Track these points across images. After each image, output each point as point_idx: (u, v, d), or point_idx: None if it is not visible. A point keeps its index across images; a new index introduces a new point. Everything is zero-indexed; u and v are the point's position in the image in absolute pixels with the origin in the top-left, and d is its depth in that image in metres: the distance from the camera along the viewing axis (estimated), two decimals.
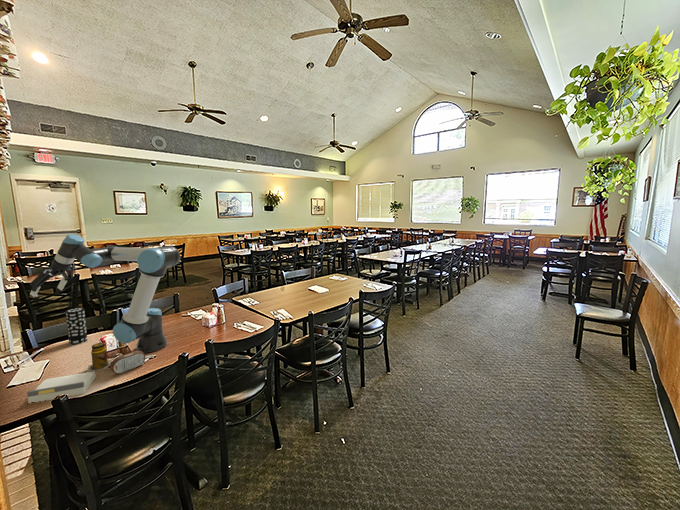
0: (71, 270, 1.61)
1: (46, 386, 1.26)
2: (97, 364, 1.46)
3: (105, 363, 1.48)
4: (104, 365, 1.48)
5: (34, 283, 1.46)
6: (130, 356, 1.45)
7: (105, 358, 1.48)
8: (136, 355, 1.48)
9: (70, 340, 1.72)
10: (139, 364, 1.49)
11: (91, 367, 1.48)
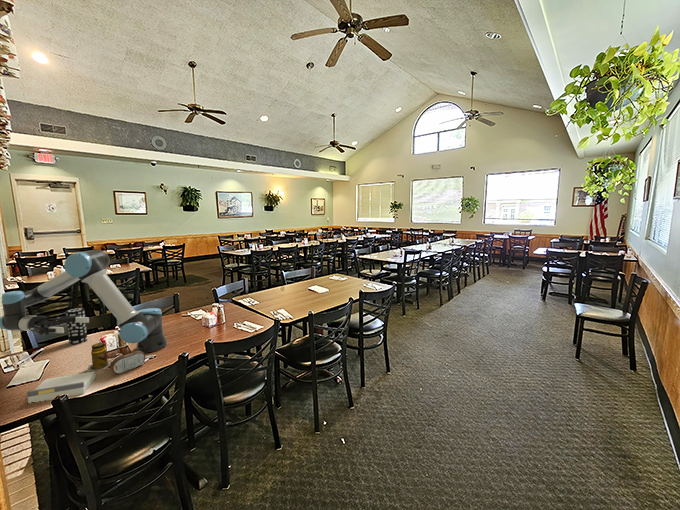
0: (61, 317, 1.52)
1: (46, 386, 1.26)
2: (97, 364, 1.46)
3: (105, 363, 1.48)
4: (104, 365, 1.48)
5: (38, 330, 1.36)
6: (130, 356, 1.45)
7: (105, 358, 1.48)
8: (136, 355, 1.48)
9: (70, 340, 1.72)
10: (139, 364, 1.49)
11: (91, 367, 1.48)
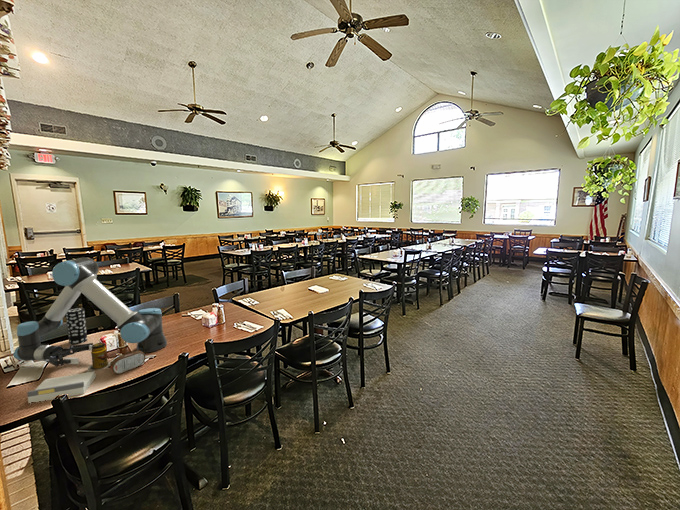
0: (75, 345, 1.54)
1: (46, 386, 1.26)
2: (97, 364, 1.46)
3: (105, 363, 1.48)
4: (104, 365, 1.48)
5: (54, 362, 1.38)
6: (130, 356, 1.45)
7: (105, 358, 1.48)
8: (136, 355, 1.48)
9: (70, 340, 1.72)
10: (139, 364, 1.49)
11: (91, 367, 1.48)
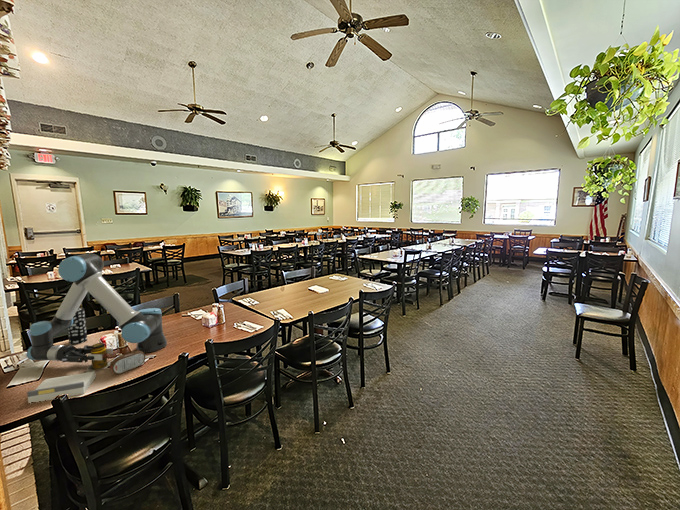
0: (88, 346, 1.53)
1: (46, 386, 1.26)
2: (96, 364, 1.45)
3: (105, 363, 1.48)
4: (103, 365, 1.48)
5: (77, 359, 1.41)
6: (130, 356, 1.45)
7: (105, 358, 1.48)
8: (136, 355, 1.48)
9: (70, 340, 1.72)
10: (139, 364, 1.49)
11: (91, 367, 1.47)
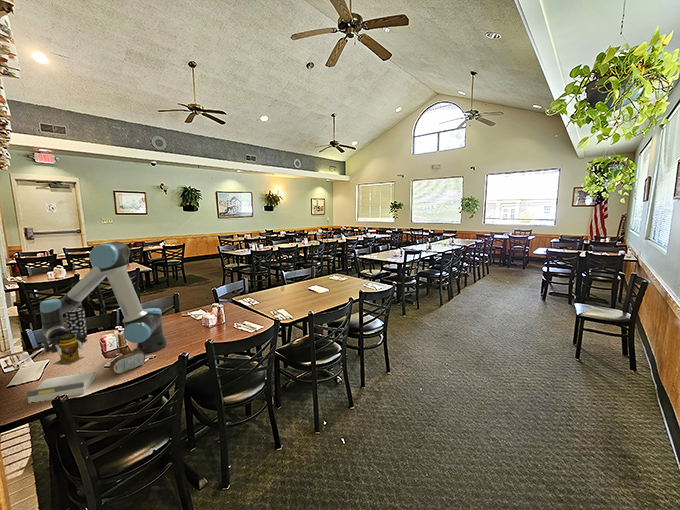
0: (78, 334, 1.40)
1: (46, 386, 1.26)
2: (61, 358, 1.27)
3: (70, 359, 1.28)
4: (69, 361, 1.28)
5: (45, 347, 1.27)
6: (130, 356, 1.45)
7: (70, 353, 1.28)
8: (136, 355, 1.48)
9: None
10: (139, 364, 1.49)
11: None
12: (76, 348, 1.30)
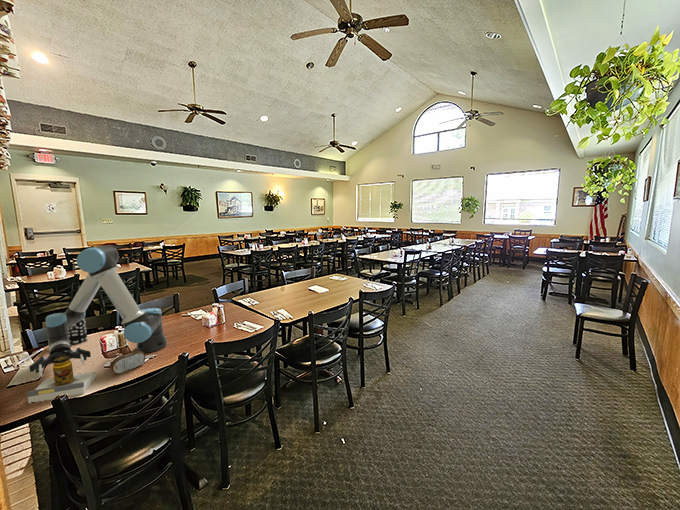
0: (79, 349, 1.40)
1: (46, 386, 1.26)
2: (54, 380, 1.26)
3: (63, 382, 1.26)
4: (61, 384, 1.26)
5: None
6: (130, 356, 1.45)
7: (63, 376, 1.26)
8: (136, 355, 1.48)
9: (70, 340, 1.72)
10: (139, 364, 1.49)
11: None
12: (70, 371, 1.28)
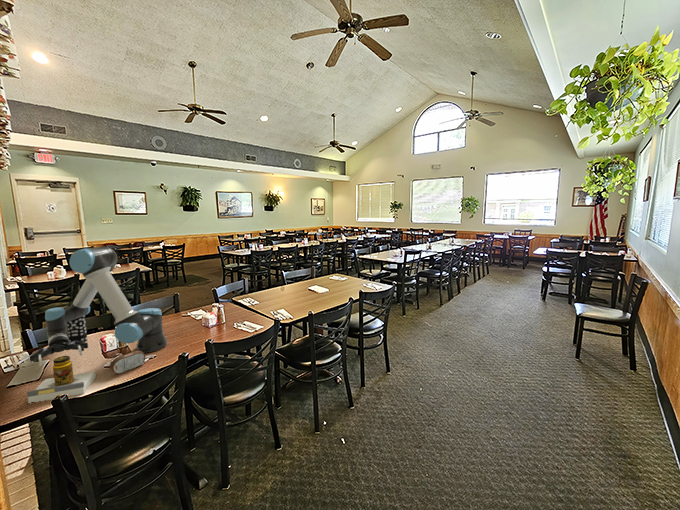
0: (76, 341, 1.49)
1: (46, 386, 1.26)
2: (54, 380, 1.26)
3: (63, 382, 1.26)
4: (61, 384, 1.26)
5: None
6: (130, 356, 1.45)
7: (63, 376, 1.26)
8: (136, 355, 1.48)
9: (70, 340, 1.72)
10: (139, 364, 1.49)
11: None
12: (70, 371, 1.28)
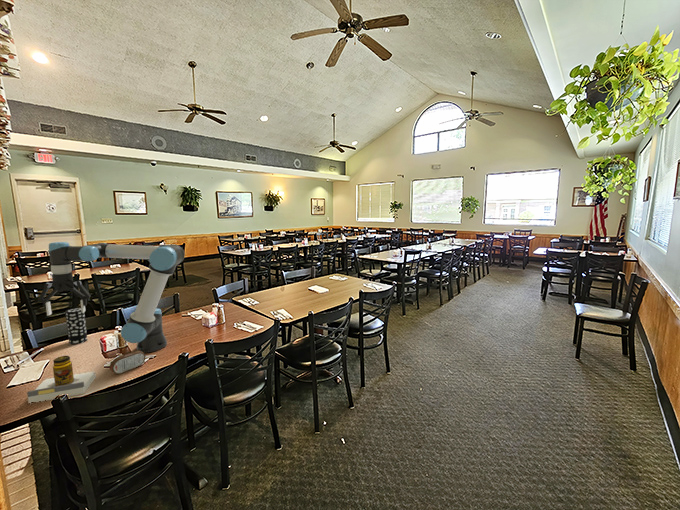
0: (78, 286, 1.49)
1: (46, 386, 1.26)
2: (54, 380, 1.26)
3: (63, 382, 1.26)
4: (61, 384, 1.26)
5: None
6: (130, 356, 1.45)
7: (63, 376, 1.26)
8: (136, 355, 1.48)
9: (70, 340, 1.72)
10: (139, 364, 1.49)
11: None
12: (70, 371, 1.28)
